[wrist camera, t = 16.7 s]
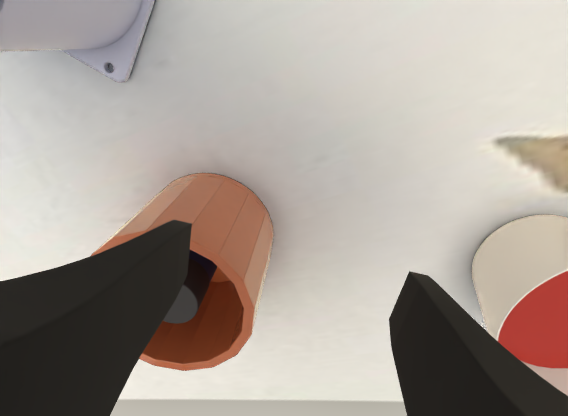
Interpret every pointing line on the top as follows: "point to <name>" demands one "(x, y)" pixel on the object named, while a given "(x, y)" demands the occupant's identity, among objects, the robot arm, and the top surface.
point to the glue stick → (192, 289)
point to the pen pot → (223, 252)
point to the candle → (528, 292)
